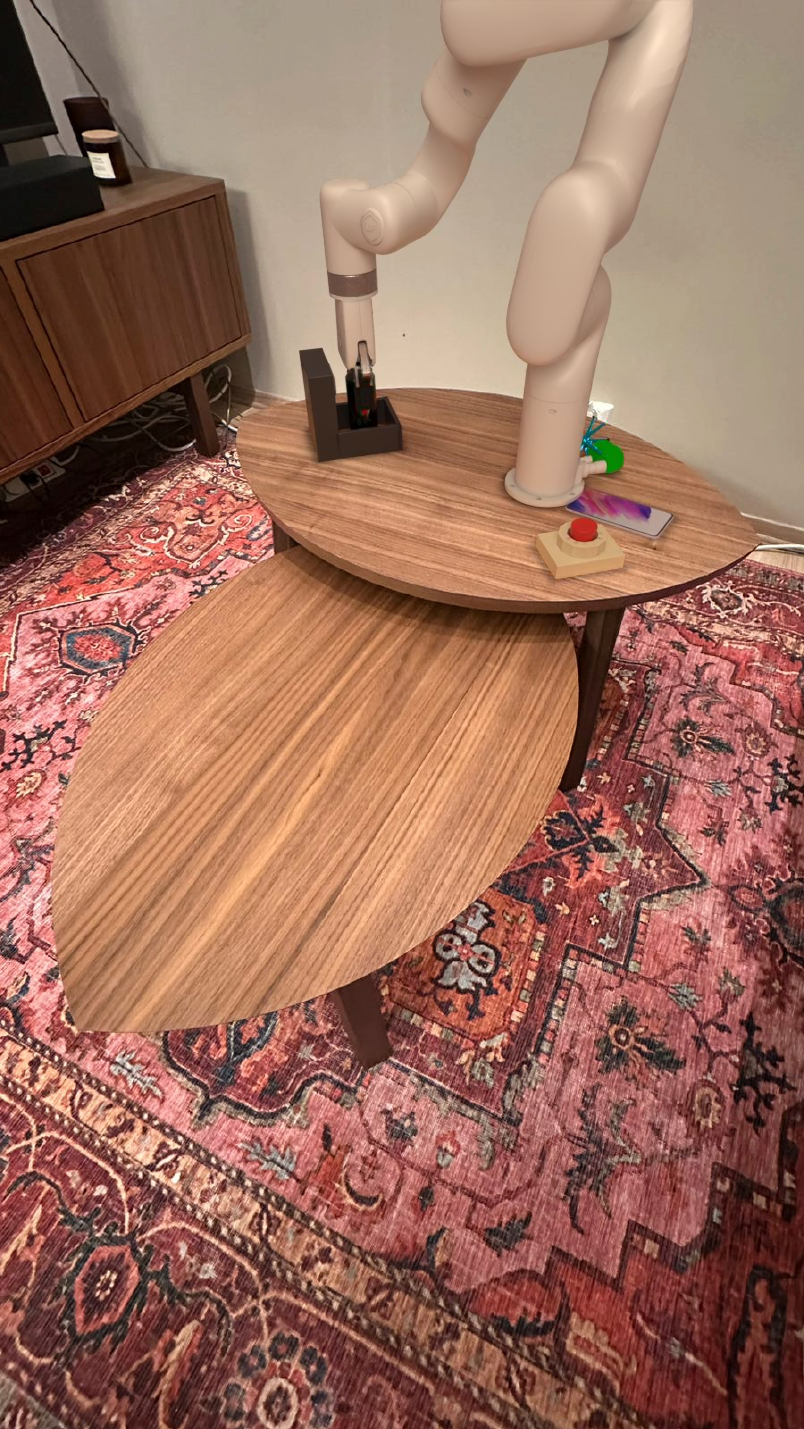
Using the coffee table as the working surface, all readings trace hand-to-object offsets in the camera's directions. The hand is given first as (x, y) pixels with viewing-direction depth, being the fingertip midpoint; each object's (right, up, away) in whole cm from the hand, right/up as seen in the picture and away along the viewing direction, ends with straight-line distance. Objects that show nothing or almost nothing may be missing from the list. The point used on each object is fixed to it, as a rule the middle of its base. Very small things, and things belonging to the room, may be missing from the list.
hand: (361, 401), depth 117 cm
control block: (+32, -31, -20) cm, 49 cm away
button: (+32, -29, -23) cm, 49 cm away
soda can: (0, -5, +5) cm, 7 cm away
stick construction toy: (+39, -11, -2) cm, 41 cm away
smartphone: (+40, -23, -12) cm, 48 cm away
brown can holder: (-2, -5, +5) cm, 7 cm away
